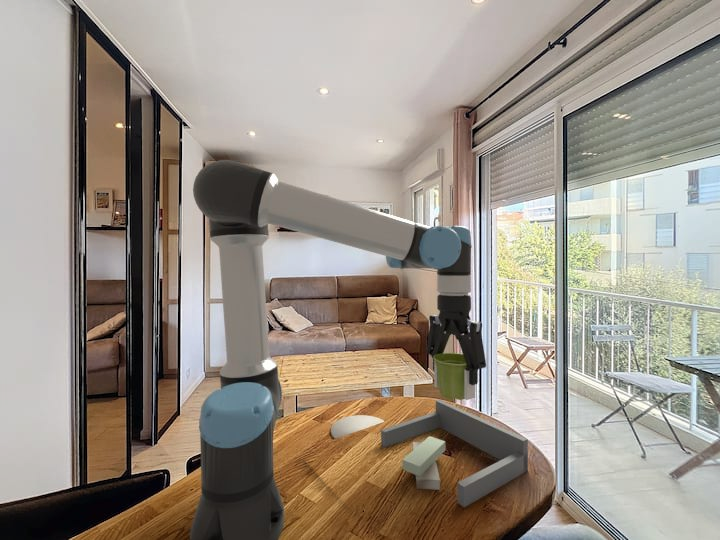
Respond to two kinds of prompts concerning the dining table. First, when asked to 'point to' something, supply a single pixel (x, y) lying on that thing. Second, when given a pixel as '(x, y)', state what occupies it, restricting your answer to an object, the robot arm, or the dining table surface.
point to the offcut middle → (428, 476)
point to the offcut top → (423, 456)
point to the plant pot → (451, 374)
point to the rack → (478, 434)
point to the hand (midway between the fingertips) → (454, 391)
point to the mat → (353, 424)
